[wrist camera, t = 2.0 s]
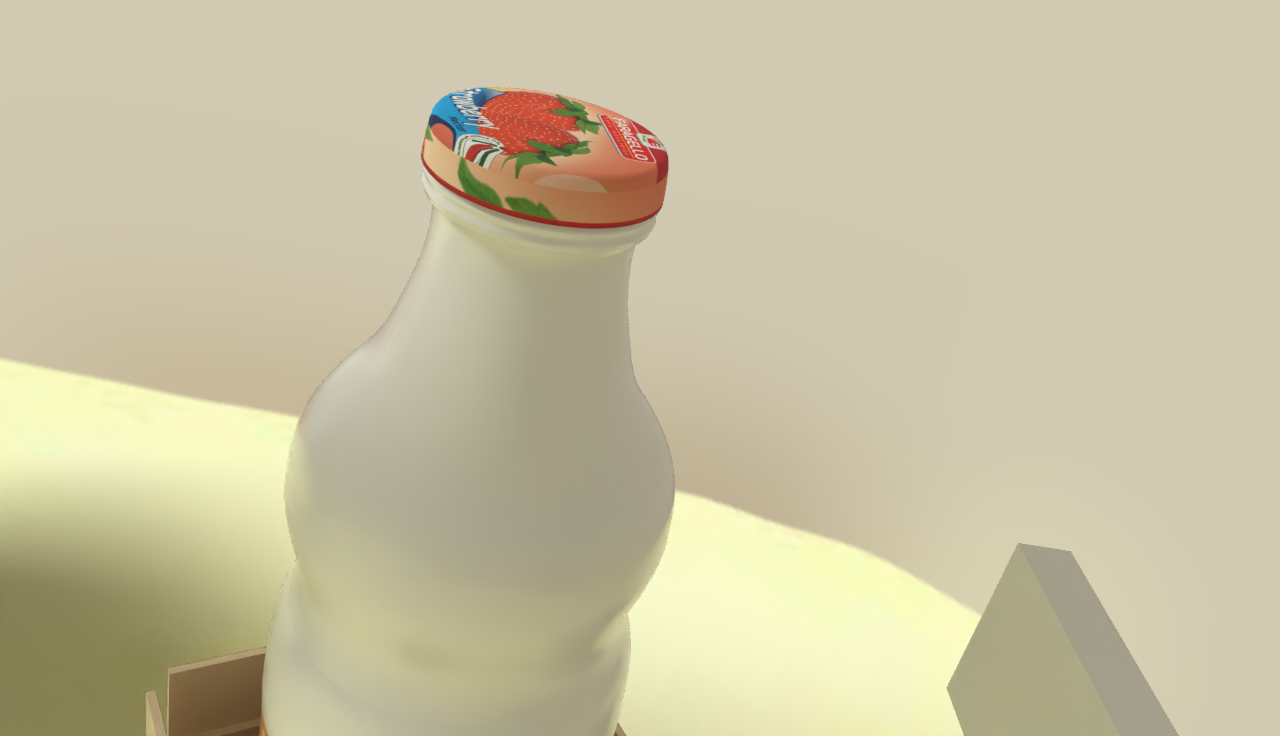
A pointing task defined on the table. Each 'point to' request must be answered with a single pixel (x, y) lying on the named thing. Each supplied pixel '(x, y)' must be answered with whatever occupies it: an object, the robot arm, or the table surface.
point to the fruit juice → (484, 451)
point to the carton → (216, 698)
